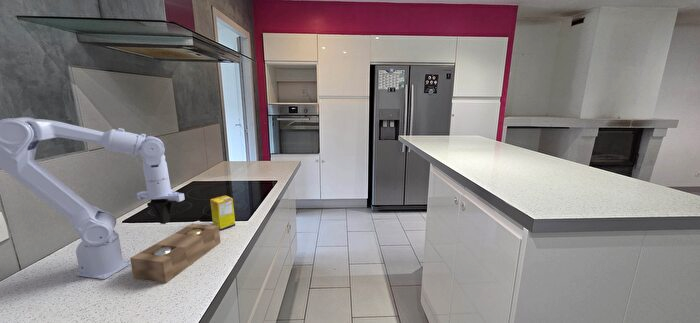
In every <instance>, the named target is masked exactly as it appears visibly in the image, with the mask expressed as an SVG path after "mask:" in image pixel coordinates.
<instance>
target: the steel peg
mask: <svg viewBox="0 0 700 323" xmlns="http://www.w3.org/2000/svg"><path fill="white" fill-rule="evenodd" d="M170 251H171V248H170V247H164V248H160V249H158V250H156V251H155V252H154V255H159V256H163V255H165V254H167V253H168V252H170Z"/></svg>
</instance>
